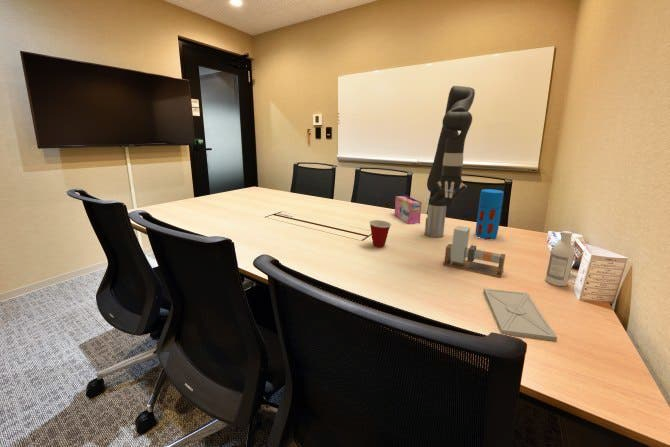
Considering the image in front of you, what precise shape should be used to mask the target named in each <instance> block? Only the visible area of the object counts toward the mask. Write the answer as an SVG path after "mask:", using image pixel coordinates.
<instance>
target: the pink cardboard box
mask: <svg viewBox="0 0 670 447" xmlns="http://www.w3.org/2000/svg"><path fill="white" fill-rule="evenodd" d="M394 201H395V204H394V216H395V217H397V218H399V219H400V220H401V219H402V221H403V222H404V223H406V224H408V225H416V224H415V223H419V224H421V215H422V203H423V202H421V201H419V200H418V199H415V198H412V196H411V197H410V196H409V195H407V194H406V195H405V194H404V195H403V196H401V195H400V196H398V195H395V200H394Z"/></svg>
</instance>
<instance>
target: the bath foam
mask: <svg viewBox="0 0 670 447" xmlns="http://www.w3.org/2000/svg"><path fill="white" fill-rule="evenodd" d="M572 237H573V232H571V231H569V230H562V231H561V237H560V240H559V241H558V242H557V243H556V244H555V245H554V246H553V247H552V249H551V252H550V256H549V260H548V266H547V269H546V275H545V281H546V282H547V283H548V284H551V285H554V286H558V287H565V286H568V284H569V281H570V277H571V276H570V275H571V271H572V268H573V263H574V260H575V249H574V247H573V245H572V243H571V241H572Z"/></svg>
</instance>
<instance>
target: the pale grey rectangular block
mask: <svg viewBox="0 0 670 447" xmlns="http://www.w3.org/2000/svg"><path fill="white" fill-rule="evenodd" d="M470 230H471V227H467V226H461V225H457V226H456V227H455V228H454V229H453V235H452V243H451V244H452V251H451V261H455V262H460V263H463V262H464V261H465V260H467V257H464V254H465V249H466V248H469V247H468V246H469V238H470Z"/></svg>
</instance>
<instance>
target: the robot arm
mask: <svg viewBox="0 0 670 447" xmlns="http://www.w3.org/2000/svg"><path fill="white" fill-rule="evenodd" d="M475 95H476V91H475V89H474V88H473V87H470V86H461V85H453V86H451V88H450V90H449V92H448V97H447V102H446V107H445V113H444V116H443V118H442V127H441V130H440V134H439V137H438V141H437V147H436V152H435V154H434V159H433V162H432V165H431V168H430V170H429V175H428V177H427V181H426V187H427V190H428V191H429V192H430V193H435V194H433V196H431V197H430V198H429V199H428V203H427V204H428V207H427V217H426V218H425V225H424V227H425V228H424V236H428V237H430V238H441V237H444V234H445V232H444V231H445V222H446V213H447V208H449V207H450V208H451V207H452V205H453V202H454V198H456V197H458V196H460V194H461V193H462V192H463V191H464V190H465V189H466V188H467V187H468V186H467V184H464V183H463V179H462V176H463V175H462V173H463V166H464V165H463V164H464V152H465V151H464V149H465V143H466V138H467V135H468V132H469V131H470V128H471V126H472V123H473V115H472V113H471V112H469V110H471V107H472V105H473V103H474V100H475ZM459 132H460V133H459ZM458 187H459V189H458ZM457 189H458V190H457ZM456 190H457V191H456ZM455 191H456V192H455Z"/></svg>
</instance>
